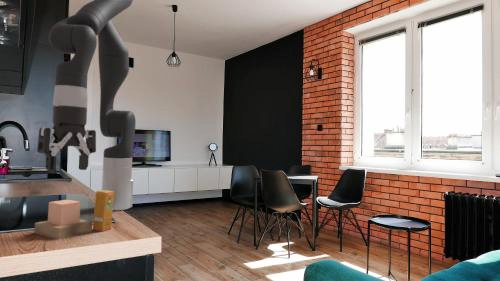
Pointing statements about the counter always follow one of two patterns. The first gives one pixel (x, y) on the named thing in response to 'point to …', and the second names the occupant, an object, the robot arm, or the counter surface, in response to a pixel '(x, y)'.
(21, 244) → the counter surface
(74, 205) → the terracotta block
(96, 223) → the supplement box
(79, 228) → the tan flat block
